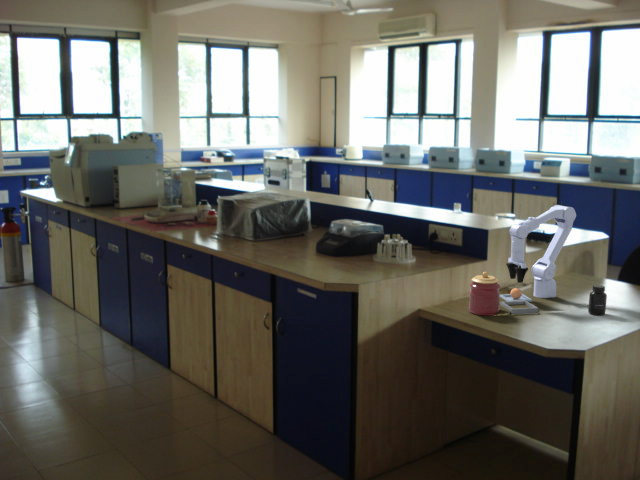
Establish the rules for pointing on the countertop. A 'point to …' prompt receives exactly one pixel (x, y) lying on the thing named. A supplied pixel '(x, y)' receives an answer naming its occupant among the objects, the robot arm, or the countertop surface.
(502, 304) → the tray
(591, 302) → the supplement bottle
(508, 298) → the dish
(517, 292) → the ball
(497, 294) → the canister
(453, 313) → the countertop surface
